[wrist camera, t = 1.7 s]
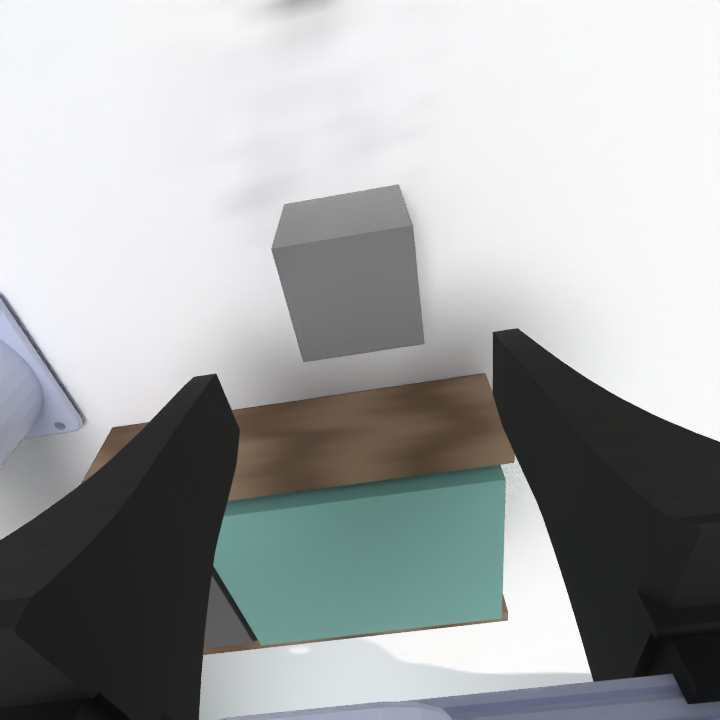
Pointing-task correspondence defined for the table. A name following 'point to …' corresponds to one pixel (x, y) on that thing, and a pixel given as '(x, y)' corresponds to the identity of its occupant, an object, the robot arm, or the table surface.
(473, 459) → the frame
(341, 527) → the trapdoor
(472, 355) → the table surface
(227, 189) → the table surface
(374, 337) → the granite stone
